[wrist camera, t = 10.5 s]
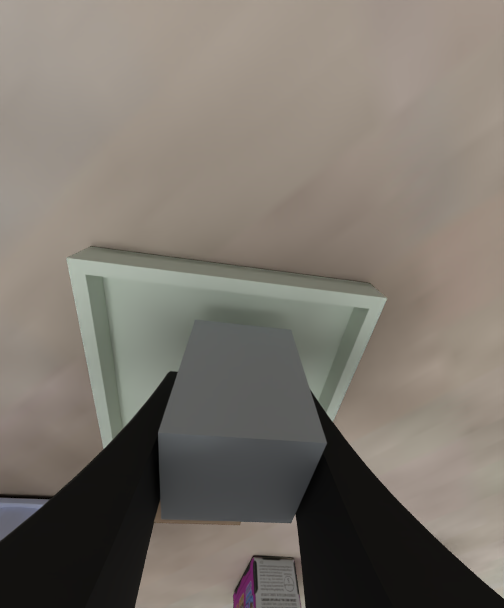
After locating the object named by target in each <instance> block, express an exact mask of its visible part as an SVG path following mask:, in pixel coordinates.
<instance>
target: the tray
mask: <svg viewBox="0 0 504 608" xmlns="http://www.w3.org/2000/svg"><path fill="white" fill-rule="evenodd" d="M66 259H67V264H68V269H69V274H70V279H71V285H72V290H73V295H74V300H75V305H76V310H77V315H78V320H79V326H80V331H81V336H82V341H83V346H84V351H85V356H86V361H87V366H88V372H89V377H90V382H91V387H92V392H93V397H94V402H95V407H96V413H97V418H98V423H99V428H100V433H101V438H102V443H103V448H105V447H106V446H107V445H108V444H109V443H110V442H111V441H112V440H113V439H114V438H115V437H116V436H117V434H118V433H119V432H120V431H121V430H122V429H123V428H124V427H125V426H126V425H127V424H128V423H129V421H130V420H131V419H132V418H133V417H134V416H135V414H136V413H137V412H138V411H139V410H140V408H141V407H142V406H143V405H144V404H145V403H146V401H147V400H148V399H149V398H150V396H151V395H152V394H153V392H154V391H155V390H156V389H157V387H158V386H159V384H160V383H161V382H162V380H163V379H164V377H165V376H166V374H167V373H168V372H170V371H176V372H178V370H179V367H180V364H181V361H182V358H183V355H184V352H185V349H186V346H187V343H188V340H189V337H190V334H191V331H192V328H193V324H194V321H195V320H204V321H214V322H223V323H232V324H242V325H251V326H260V327H270V328H279V329H288V330H291V331H292V334H293V338H294V341H295V344H296V347H297V350H298V353H299V357H300V360H301V363H302V366H303V369H304V372H305V375H306V379H307V382H308V385H309V388H310V390H311V391H312V393H313V394H314V396H315V397H316V399H317V400H318V402H319V403H320V405H321V406H322V407H323V409H324V410H325V412H326V413H327V415H328V416H329V417H330V419H331V420H332V422H333V420H334V418H335V416H336V414H337V411H338V409H339V407H340V404H341V402H342V400H343V398H344V395H345V393H346V391H347V389H348V386H349V384H350V382H351V380H352V377H353V375H354V373H355V370H356V368H357V366H358V364H359V361H360V359H361V357H362V355H363V352H364V350H365V348H366V346H367V343H368V341H369V339H370V336H371V334H372V332H373V330H374V327H375V325H376V323H377V321H378V318H379V316H380V314H381V311H382V309H383V307H384V305H385V302H386V300H387V298H386V297H385V296H384V295H383V294H382V293H381V292H379V291H378V290H377V289H376V288H375V287H373V286H372V285H371V284H370V283H365V282H357V281H350V280H342V279H335V278H327V277H319V276H312V275H304V274H297V273H289V272H281V271H274V270H266V269H259V268H251V267H243V266H236V265H228V264H221V263H213V262H205V261H198V260H190V259H183V258H175V257H167V256H160V255H152V254H144V253H137V252H129V251H122V250H114V249H106V248H99V247H91V246H90V247H88V248H86V249H84V250H82V251H80V252H78V253H75V254H73V255H71V256H69V257H67V258H66Z"/></svg>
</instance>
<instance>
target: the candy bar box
mask: <svg viewBox="0 0 504 608" xmlns="http://www.w3.org/2000/svg"><path fill="white" fill-rule="evenodd" d="M233 601H234V606H233V608H301V603H300V596H299V589H298V582H297V575H296V568H295V561H294V559H292V558H287V557H253V558H252V560H251V562H250V564H249V566H248V568H247V570H246V572H245V574H244V576H243V578H242V580H241V582H240V584H239V585H238V587H237V589H236V591H235V593H234V595H233Z"/></svg>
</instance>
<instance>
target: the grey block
mask: <svg viewBox="0 0 504 608" xmlns="http://www.w3.org/2000/svg"><path fill="white" fill-rule="evenodd" d="M326 444H327V442H326V438H325V435H324V432H323V429H322V426H321V423H320V419H319V416H318V413H317V410H316V407H315V404H314V401H313V397H312V394H311V391H310V388H309V385H308V382H307V379H306V375H305V372H304V369H303V366H302V363H301V360H300V357H299V353H298V350H297V347H296V344H295V341H294V338H293V334H292V331H291V330H288V329H279V328H270V327H260V326H251V325H242V324H232V323H223V322H214V321H204V320H195V321H194V324H193V328H192V331H191V334H190V337H189V340H188V343H187V346H186V349H185V352H184V355H183V358H182V361H181V364H180V367H179V370H178V373H177V376H176V379H175V382H174V386H173V389H172V392H171V395H170V398H169V401H168V404H167V407H166V410H165V413H164V416H163V419H162V422H161V425H160V428H159V431H158V445H159V473H160V501H161V519H166V520H201V521H236V522H271V523H291V522H292V520H293V518H294V516H295V513H296V511H297V509H298V507H299V504H300V502H301V500H302V498H303V496H304V493H305V491H306V489H307V487H308V484H309V482H310V480H311V478H312V476H313V473H314V471H315V469H316V467H317V464H318V462H319V460H320V458H321V455H322V453H323V451H324V449H325V447H326Z"/></svg>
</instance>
